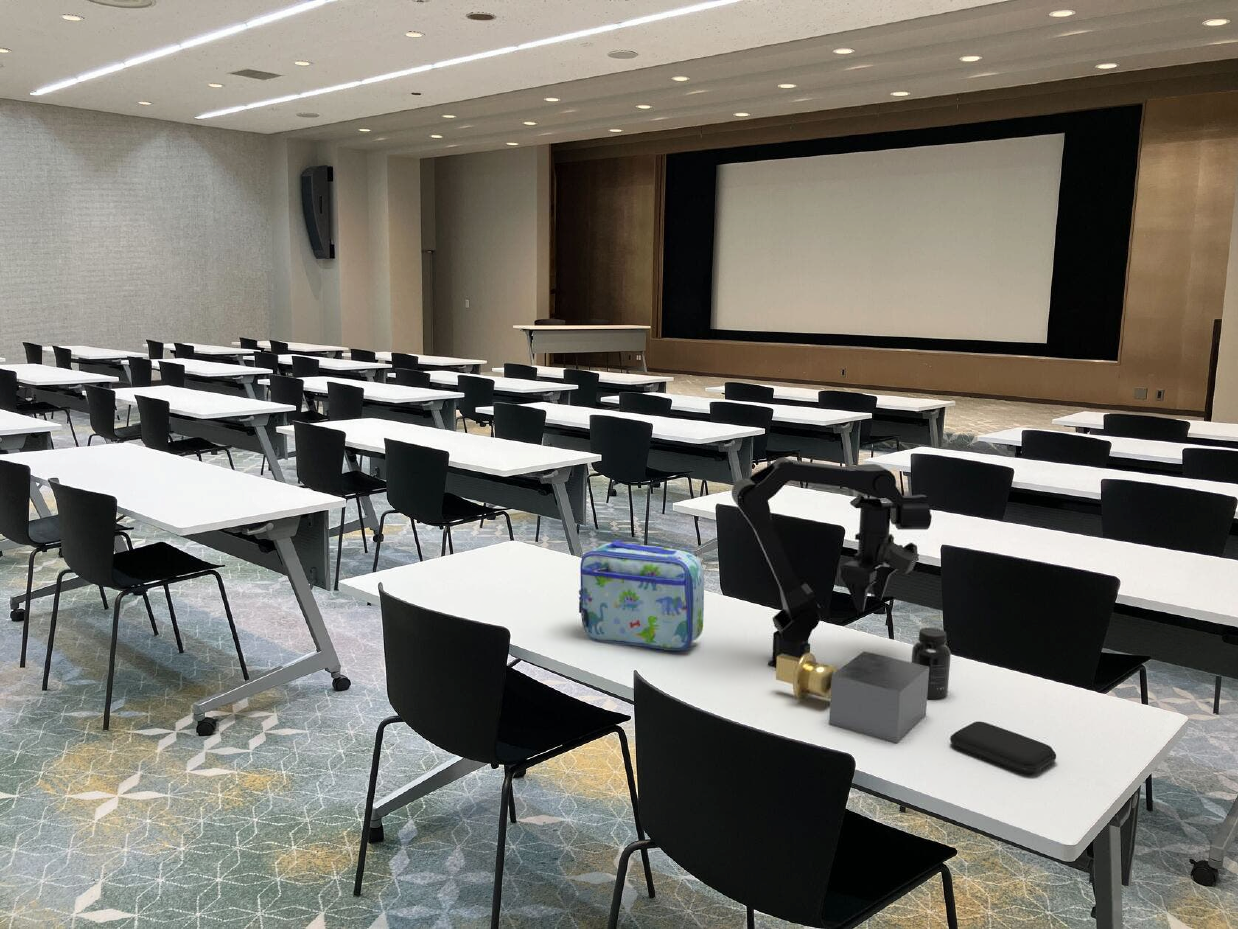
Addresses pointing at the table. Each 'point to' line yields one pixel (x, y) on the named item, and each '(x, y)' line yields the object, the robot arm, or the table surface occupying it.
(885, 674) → the block
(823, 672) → the end cover
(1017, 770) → the carrying case or bag
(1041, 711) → the table surface
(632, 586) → the lunch box
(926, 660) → the supplement bottle
